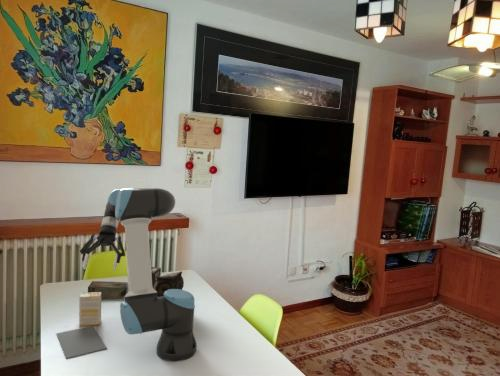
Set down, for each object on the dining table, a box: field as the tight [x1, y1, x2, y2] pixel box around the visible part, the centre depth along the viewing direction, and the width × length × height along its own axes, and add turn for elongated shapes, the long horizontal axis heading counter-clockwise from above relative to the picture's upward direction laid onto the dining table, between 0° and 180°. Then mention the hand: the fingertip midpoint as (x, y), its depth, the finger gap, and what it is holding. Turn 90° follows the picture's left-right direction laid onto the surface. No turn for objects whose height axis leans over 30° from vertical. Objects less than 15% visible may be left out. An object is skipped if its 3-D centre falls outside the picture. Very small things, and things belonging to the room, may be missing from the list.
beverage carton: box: [87, 280, 129, 299], centre depth 191 cm, size 8×19×7 cm, turn 99°
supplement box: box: [78, 291, 102, 327], centre depth 161 cm, size 8×5×13 cm, turn 102°
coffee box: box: [151, 266, 162, 291], centre depth 188 cm, size 9×6×16 cm
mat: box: [56, 325, 108, 360], centre depth 147 cm, size 20×14×1 cm
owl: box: [156, 270, 185, 297], centre depth 174 cm, size 13×13×20 cm
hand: (99, 268), depth 170 cm, fingers open, 13 cm apart
